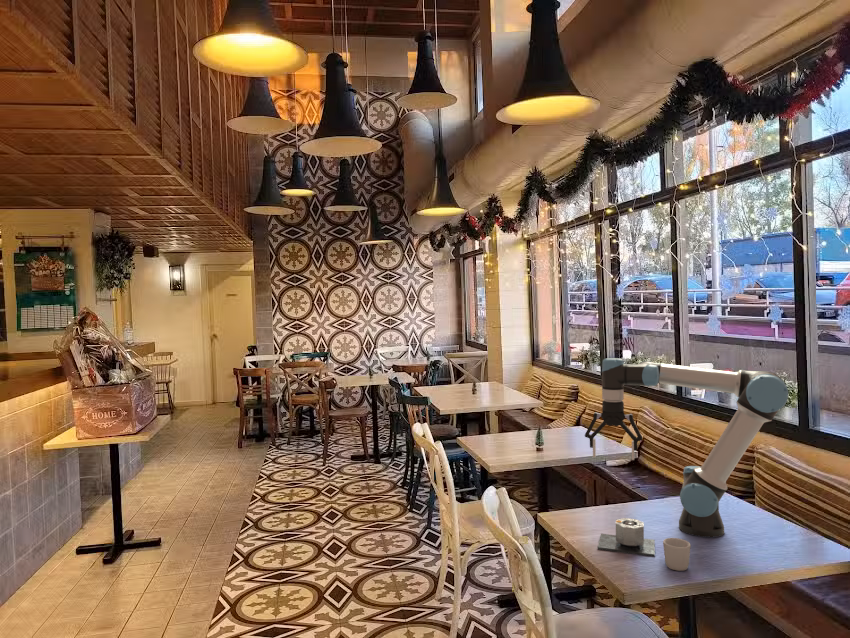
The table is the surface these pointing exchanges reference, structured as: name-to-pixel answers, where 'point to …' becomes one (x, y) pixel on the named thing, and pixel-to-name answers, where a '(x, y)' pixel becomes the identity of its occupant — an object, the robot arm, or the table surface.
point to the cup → (676, 553)
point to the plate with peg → (611, 544)
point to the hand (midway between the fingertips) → (613, 457)
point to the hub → (629, 532)
